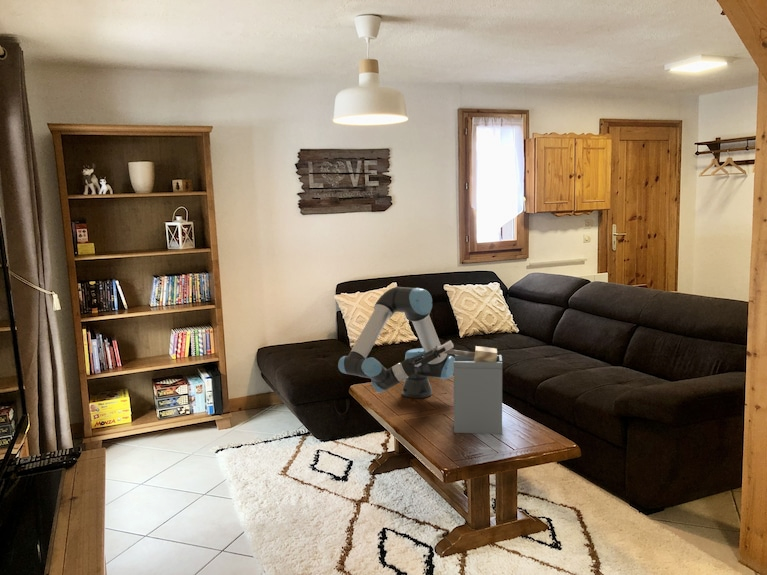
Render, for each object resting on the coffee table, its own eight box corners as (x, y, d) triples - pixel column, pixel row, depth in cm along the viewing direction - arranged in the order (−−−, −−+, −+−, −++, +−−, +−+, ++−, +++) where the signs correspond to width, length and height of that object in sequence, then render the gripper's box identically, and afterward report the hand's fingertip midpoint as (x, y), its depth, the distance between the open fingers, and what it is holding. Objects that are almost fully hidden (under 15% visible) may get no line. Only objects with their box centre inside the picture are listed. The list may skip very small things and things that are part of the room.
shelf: (453, 432, 261) (453, 361, 257) (455, 420, 275) (454, 353, 270) (502, 434, 258) (502, 362, 253) (500, 422, 271) (501, 353, 267)
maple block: (431, 358, 261) (432, 344, 260) (432, 353, 269) (434, 340, 268) (495, 367, 257) (497, 353, 256) (495, 362, 265) (496, 348, 264)
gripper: (411, 372, 275) (457, 347, 270) (407, 382, 260) (455, 355, 256) (402, 357, 275) (448, 332, 270) (398, 366, 260) (446, 340, 255)
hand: (451, 343), depth 263 cm, fingers closed on maple block, 2 cm apart
